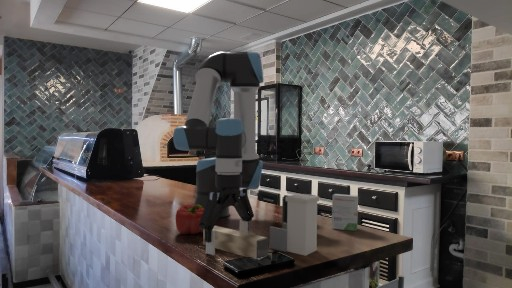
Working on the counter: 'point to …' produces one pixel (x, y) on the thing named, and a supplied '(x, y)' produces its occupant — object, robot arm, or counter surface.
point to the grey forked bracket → (297, 226)
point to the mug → (284, 209)
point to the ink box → (344, 212)
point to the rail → (239, 242)
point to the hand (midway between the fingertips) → (227, 248)
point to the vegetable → (189, 219)
